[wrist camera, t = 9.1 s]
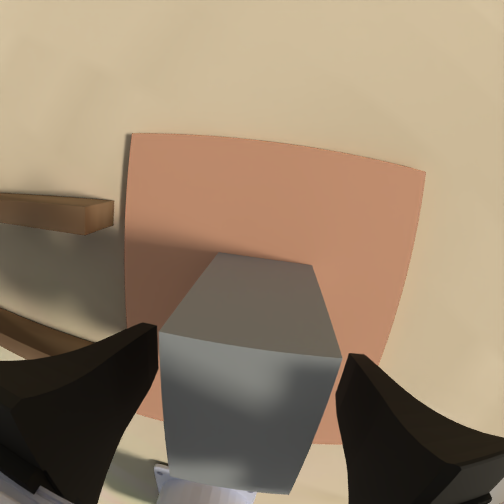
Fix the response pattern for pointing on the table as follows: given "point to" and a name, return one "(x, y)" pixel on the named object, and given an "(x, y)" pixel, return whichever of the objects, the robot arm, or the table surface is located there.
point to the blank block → (246, 374)
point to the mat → (269, 232)
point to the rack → (57, 219)
